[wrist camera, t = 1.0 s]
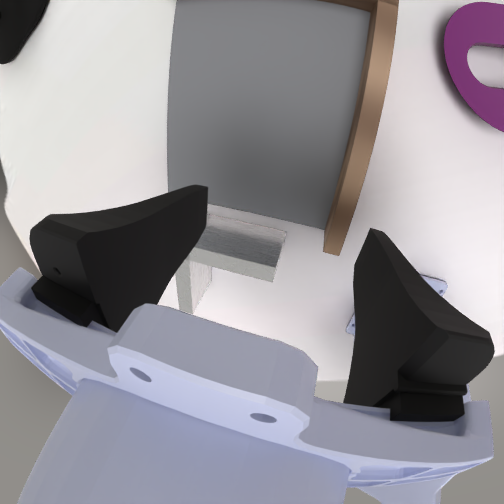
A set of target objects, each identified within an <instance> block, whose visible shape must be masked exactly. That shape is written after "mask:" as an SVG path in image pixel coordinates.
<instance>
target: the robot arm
mask: <svg viewBox="0 0 504 504" xmlns="http://www.w3.org/2000/svg"><path fill="white" fill-rule="evenodd" d="M207 203H208V187H207V186H202V185H197V184H195V185H190V186H186V187H183V188H180V189H177V190H174V191H171V192H168V193H166V194H163V195H160V196H157V197H154V198H150V199H147V200H144V201H141V202H138V203H134V204H130V205H126V206H122V207H118V208H112V209H106V210H101V211H94V212H86V213H74V214H50V215H48V216H47V217H45V218H44V219H43V220H41V221H40V222H39V223H38V224H36V225H35V226H34V227H33V228H32V229H31V231H30V245H31V248H32V252H33V254H34V257H35V259H36V262H37V264H38V266H39V269H40V271H41V273H42V275H43V276H42V277H41V278H40V279H39V280H37V279H36V278H35V276H34V275H32V274H31V273H29V272H28V271H26V270H25V269H23V268H21V267H19V268H18V269H17V270H16V271H15V272H14V273H13V274H12V275H11V276H10V277H9V278H8V279H7V280H6V281H5V282H4V283H3V284H2V285H1V287H0V329H1V330H2V332H3V333H4V335H5V336H6V337H7V339H8V340H9V341H10V342H11V344H12V345H13V346H14V347H16V348H17V349H18V350H19V351H20V352H21V353H22V354H23V355H24V356H25V357H26V358H28V359H29V360H30V361H31V362H32V363H33V364H34V365H35V366H36V367H38V368H39V369H40V370H41V371H42V372H44V373H45V374H46V375H47V376H48V377H49V378H50V379H52V380H53V381H54V382H55V383H57V384H58V385H59V386H60V387H62V388H63V389H64V390H66V391H67V392H68V393H69V394H71V395H72V398H71V399H70V401H69V403H68V404H67V406H66V408H65V410H64V411H63V413H62V415H61V417H60V418H59V420H58V422H57V423H56V425H55V427H54V429H53V431H52V432H51V434H50V436H49V438H48V440H47V442H46V444H45V445H44V447H43V449H42V451H41V453H40V455H39V457H38V459H37V461H36V463H35V465H34V467H33V469H32V471H31V474H30V475H29V477H28V479H27V482H26V484H25V486H24V488H23V490H22V493H21V495H20V498H19V500H18V502H17V504H343V502H344V498H345V493H346V488H348V487H357V488H358V489H360V490H362V491H363V492H365V493H367V494H369V495H370V496H372V497H374V498H376V499H377V500H379V501H380V502H381V504H440V502H441V488H442V487H443V486H444V485H445V484H446V483H447V482H448V481H449V480H450V479H451V478H453V477H454V476H455V475H456V474H457V473H460V472H463V471H465V470H468V469H470V468H472V467H475V466H477V465H479V464H482V463H484V462H486V461H488V460H490V459H492V458H493V457H494V451H493V450H494V448H493V433H492V423H491V414H490V407H489V401H487V400H479V401H478V400H477V401H471V398H470V391H469V385H468V383H469V382H470V381H471V380H472V379H473V378H475V377H476V376H477V375H478V374H479V373H480V372H481V371H483V370H484V369H485V368H486V366H488V364H489V363H490V361H491V360H492V358H493V355H494V352H495V351H494V345H493V342H492V339H491V336H490V333H489V332H488V331H487V330H485V329H484V328H482V327H481V326H479V325H477V324H476V323H474V322H473V321H471V320H470V319H469V318H467V317H466V316H465V315H463V314H462V313H461V312H459V311H458V310H457V309H456V308H454V307H453V306H452V305H451V304H449V303H448V302H447V301H446V300H445V299H444V298H443V297H442V295H443V294H444V292H445V291H446V289H447V287H448V285H447V283H446V282H444V281H440V280H437V279H433V278H429V277H426V276H422V275H420V274H419V273H418V272H417V271H416V270H415V269H414V267H413V266H412V265H411V264H410V263H409V261H408V260H407V259H406V258H405V257H404V255H403V254H402V253H401V252H400V250H399V249H398V248H397V247H396V246H395V244H394V243H393V242H392V241H391V240H390V238H389V237H388V236H387V235H386V234H385V233H384V232H382V231H379V230H376V229H372V228H370V230H369V232H368V235H367V237H366V240H365V242H364V244H363V247H362V249H361V251H360V254H359V256H358V258H357V260H356V263H355V265H354V279H353V290H354V309H355V313H354V315H353V317H352V319H351V321H350V322H349V324H348V326H347V328H346V332H347V333H349V334H354V348H353V356H352V363H351V369H350V375H349V380H348V384H347V389H346V394H345V398H344V402H343V403H339V402H333V401H327V400H323V399H321V398H318V397H315V396H314V392H315V386H316V379H317V372H318V366H317V365H316V364H315V363H314V362H313V361H312V360H311V358H310V357H309V356H308V355H307V354H306V353H305V352H304V351H302V350H300V349H298V348H295V347H293V346H290V345H288V344H286V343H283V342H281V341H278V340H274V339H270V338H267V337H263V336H259V335H256V334H252V333H249V332H245V331H242V330H238V329H235V328H232V327H228V326H225V325H222V324H219V323H216V322H212V321H209V320H206V319H203V318H200V317H197V316H194V315H191V314H188V313H185V312H182V311H180V310H177V309H174V308H171V307H167V306H161V305H157V304H158V302H159V300H160V298H161V296H162V294H163V292H164V290H165V289H166V287H167V285H168V283H169V281H170V280H171V278H172V277H173V275H174V274H175V273H176V271H177V270H178V268H179V267H180V266H181V264H182V263H183V262H184V260H185V259H186V258H187V256H188V255H189V254H190V252H191V251H192V249H193V248H194V247H195V245H196V244H197V243H198V241H199V239H200V237H201V235H202V233H203V232H204V230H205V228H206V224H207ZM440 290H441V291H440Z"/></svg>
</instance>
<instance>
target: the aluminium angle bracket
mask: <svg viewBox="0 0 504 504" xmlns="http://www.w3.org/2000/svg"><path fill="white" fill-rule="evenodd" d="M285 236H286V231H282V230H277V229H273V228H269V227H265V226H260V225H256V224H251V223H247V222H243V221H238V220H234V219H229V218H225V217H220V216H216V215H211V214H207V224H206V228H205V230H204V232H203V233H202V235H201V237H200V239H199V241H198V243H197V244H196V245H195V247H194V248H193V249H192V251H191V252H190V254H189V255H188V256H187V258H186V259H185V260H184V262H183V263H182V264H181V266H180V267H179V268H178V270H177V271H176V273H175V275H176V284H177V293H178V301H179V309H180V310H181V311H184V312H187V313H190V314H193V313H194V312H195V310H196V308H197V306H198V304H199V302H200V300H201V299H202V297H203V295H204V293H205V291H206V290H207V288H208V286H209V284H210V282H211V270H212V267H216V268H219V269H223V270H227V271H231V272H235V273H239V274H242V275H246V276H250V277H254V278H258V279H262V280H266V281H270V282H273V280H274V276H275V273H276V270H277V266H278V263H279V259H280V256H281V253H282V249H283V246H284V241H285Z"/></svg>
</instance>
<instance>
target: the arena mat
mask: <svg viewBox="0 0 504 504" xmlns="http://www.w3.org/2000/svg"><path fill="white" fill-rule="evenodd" d="M369 20H370V12H367V11H364V10H360V9H356V8H352V7H348V6H343V5H339V4H334V3H329V2H323V1H317V0H177V2H176V9H175V17H174V25H173V34H172V44H171V56H170V69H169V86H168V113H167V169H168V192H171V191H174V190H177V189H180V188H183V187H186V186H190V185H195V184H197V185H202V186H207V187H208V204H213V205H218V206H223V207H227V208H232V209H237V210H241V211H246V212H251V213H255V214H260V215H264V216H268V217H273V218H277V219H281V220H286V221H290V222H294V223H298V224H302V225H307V226H311V227H315V228H319V229H323V230H325V227H326V223H327V220H328V216H329V213H330V209H331V206H332V202H333V199H334V195H335V191H336V187H337V184H338V180H339V176H340V172H341V168H342V164H343V160H344V156H345V151H346V147H347V143H348V139H349V134H350V130H351V125H352V120H353V116H354V111H355V106H356V101H357V96H358V91H359V85H360V80H361V74H362V68H363V62H364V56H365V50H366V43H367V36H368V28H369Z"/></svg>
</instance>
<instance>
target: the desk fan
mask: <svg viewBox="0 0 504 504" xmlns="http://www.w3.org/2000/svg"><path fill="white" fill-rule="evenodd" d="M46 1H47V0H0V64H6V63H9V62H10V61H11V60H12V59H13V58H14V57H15V55H16V54H17V52H18V51H19V49H20V47H21V46H22V44H23V43H24V41H25V40H26V38H27V37H28V35H29V34H30V32H31V31H32V30H33V28H34V27H35V25H36V24H37V22H38V20H39V18H40V16H41V14H42V12H43V10H44V7H45V4H46Z"/></svg>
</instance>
